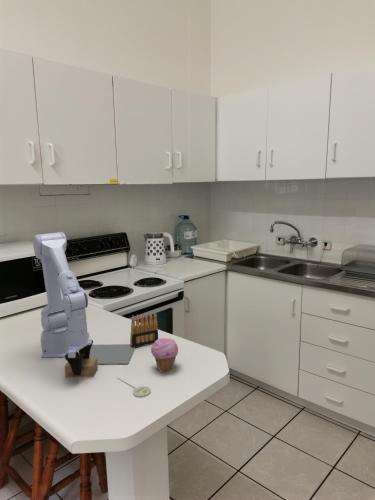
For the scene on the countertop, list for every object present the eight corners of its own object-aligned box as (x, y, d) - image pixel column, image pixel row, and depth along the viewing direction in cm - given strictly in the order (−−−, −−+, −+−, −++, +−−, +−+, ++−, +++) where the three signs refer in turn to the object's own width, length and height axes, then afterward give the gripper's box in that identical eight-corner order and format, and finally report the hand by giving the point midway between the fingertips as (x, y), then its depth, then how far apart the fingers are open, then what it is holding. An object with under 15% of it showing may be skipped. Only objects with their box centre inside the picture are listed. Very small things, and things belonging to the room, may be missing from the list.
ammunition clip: (131, 347, 138) (131, 316, 136) (130, 345, 139) (129, 315, 137) (158, 342, 143) (158, 312, 141) (156, 340, 144) (156, 310, 142)
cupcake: (149, 364, 125) (147, 336, 124) (173, 359, 129) (172, 332, 127) (157, 377, 117) (155, 347, 115) (182, 371, 120) (181, 342, 119)
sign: (123, 373, 120) (154, 390, 109) (124, 376, 120) (154, 392, 109) (110, 380, 116) (140, 397, 105) (110, 382, 116) (140, 400, 106)
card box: (65, 377, 119) (64, 366, 119) (71, 370, 124) (70, 358, 123) (93, 377, 119) (92, 366, 118) (97, 369, 124) (97, 358, 123)
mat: (69, 364, 127) (69, 363, 127) (84, 345, 142) (84, 344, 142) (128, 364, 126) (128, 363, 126) (136, 345, 141) (136, 344, 141)
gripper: (82, 338, 111) (86, 380, 114) (96, 320, 126) (99, 357, 128) (59, 338, 112) (63, 380, 114) (76, 320, 126) (79, 358, 128)
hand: (81, 368), depth 121 cm, fingers open, 7 cm apart
